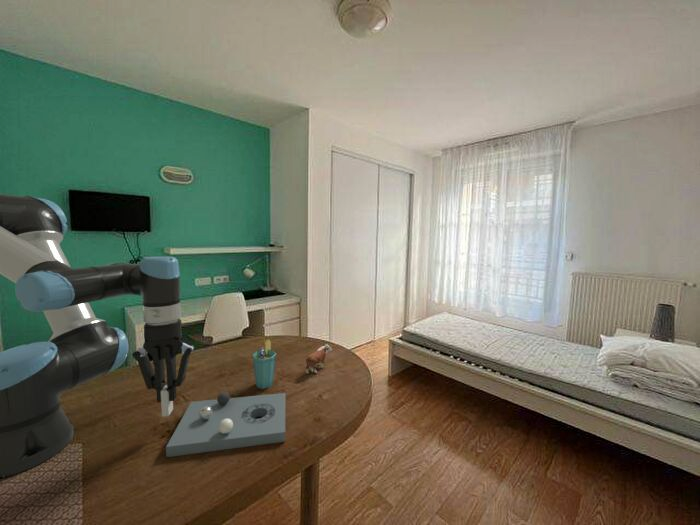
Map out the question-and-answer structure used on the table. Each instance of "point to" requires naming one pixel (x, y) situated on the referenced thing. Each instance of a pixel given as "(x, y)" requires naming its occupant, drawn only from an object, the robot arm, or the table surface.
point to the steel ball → (205, 413)
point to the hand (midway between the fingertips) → (167, 412)
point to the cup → (264, 366)
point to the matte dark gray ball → (223, 398)
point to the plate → (245, 431)
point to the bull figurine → (317, 358)
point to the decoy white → (225, 426)
